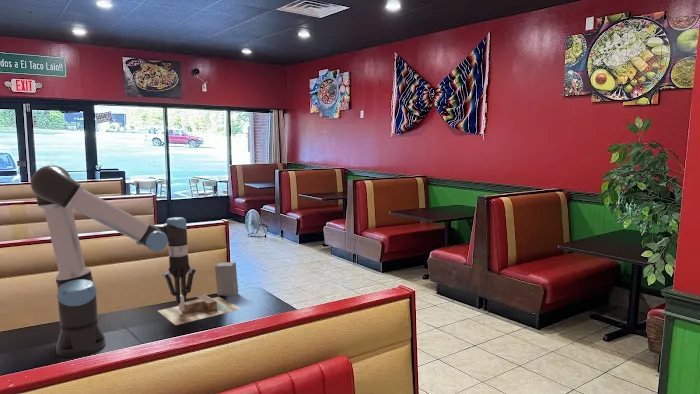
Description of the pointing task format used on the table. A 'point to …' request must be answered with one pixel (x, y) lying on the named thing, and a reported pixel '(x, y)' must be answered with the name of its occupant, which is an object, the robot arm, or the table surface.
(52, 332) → the table surface
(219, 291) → the skincare box
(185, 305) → the t block
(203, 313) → the board
